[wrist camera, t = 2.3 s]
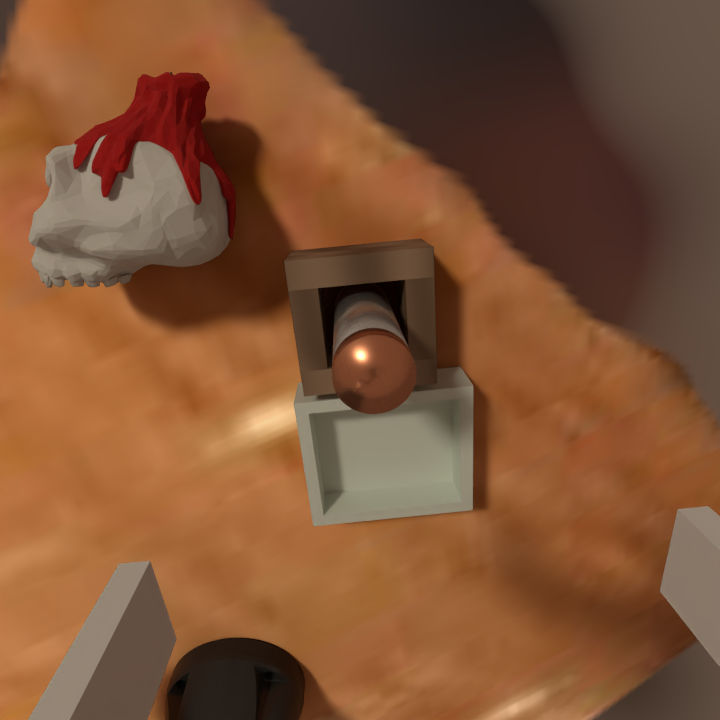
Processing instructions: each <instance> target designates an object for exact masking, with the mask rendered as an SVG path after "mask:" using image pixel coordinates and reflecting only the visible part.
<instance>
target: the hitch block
mask: <svg viewBox="0 0 720 720" xmlns="http://www.w3.org/2000/svg"><path fill="white" fill-rule="evenodd" d="M284 266H285V273H286V279H287V286H288V293H289V299H290V306H291V313H292V319H293V326H294V333H295V339H296V346H297V353H298V359H299V366H300V373H301V380H302V386H303V393H304V396H314V395H324V394H335V393H336V392H335V390H334V387H333V382H332V361H333V346H329V341H328V333H327V324H326V316H325V308H324V300H323V291H322V288H324V287H335V286H345V285H355V284H366V283H376V282H386V281H397V284H398V301H399V318H400V329H401V331H402V334H403V336H404V338H405V341H406V343H407V345H408V348H409V350H410V352H411V355H412V357H413V359H414V362H415V365H416V371H417V378H416V383H415V385H426V384H436V383H437V352H436V316H435V279H434V247H433V246H431V245H430V244H428V243H427V242H425V241H424V240H422V239H412V240H402V241H392V242H381V243H371V244H360V245H350V246H340V247H329V248H319V249H308V250H298V251H291V252H290V254H289V255H288V256H287V258H286V259H285V260H284Z"/></svg>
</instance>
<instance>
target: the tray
mask: <svg viewBox="0 0 720 720" xmlns="http://www.w3.org/2000/svg"><path fill="white" fill-rule="evenodd" d="M294 408H295V414H296V420H297V426H298V433H299V439H300V445H301V451H302V458H303V464H304V470H305V476H306V483H307V489H308V495H309V501H310V508H311V514H312V520H313V526H321V525H331V524H340V523H350V522H360V521H370V520H380V519H390V518H400V517H410V516H420V515H429V514H439V513H449V512H459V511H469V510H473V385H472V383H471V382H470V380H469V379H468V377H467V376H466V374H465V373H464V371H463V370H462V368H461V367H451V368H441V369H437V383H436V384H426V385H415V386H414V389H413V391H412V393H411V394H410V396H409V397H408V398H407V400H406V401H405V402H404V403H402V404H401V405H400V406H398V407H397V408H395V409H393V410H391V411H389V412H385V413H381V414H366V413H361V412H358V411H355V410H353V409H351V408H350V407H348V406H347V405H346V404H344V403H343V402H342V401H341V400H340V398H339V397H338V395H337V394H336V393H335V394H324V395H314V396H304V393H303V386H302V382H299V383H298V386H297V391H296V396H295V401H294Z"/></svg>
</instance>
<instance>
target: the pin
mask: <svg viewBox="0 0 720 720" xmlns="http://www.w3.org/2000/svg"><path fill="white" fill-rule="evenodd" d="M416 378H417V371H416V365H415V362H414V359H413V357H412V355H411V352H410V350H409V348H408V345H407V343H406V341H405V338H404V336H403V334H402V331H401V329H400V327H399V324H398V322H397V320H396V317H395V315H394V313H393V310H392V308H391V306H390V303H389V301H388V299H387V296H386V294H385V293H384V291H383V290H382V289H381V288H380V287H379V286H377V285H376V284H374V283H366V284H355V285H347V286H345V287H344V288H343V289H342V290H341V291H340V293H339V294H338V296H337V298H336V301H335V310H334V336H333V361H332V382H333V387H334V390H335V392H336V394H337V395H338V397H339V398H340V400H341V401H342V402H343V403H344V404H346V405H347V406H348V407H350V408H351V409H353V410H355V411H358V412H361V413H366V414H381V413H385V412H389V411H391V410H393V409H395V408H397V407H398V406H400V405H401V404H402V403H404V402H405V401H406V400H407V398H408V397H409V396H410V394H411V393H412V391H413V389H414V386H415V383H416Z"/></svg>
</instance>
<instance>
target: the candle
mask: <svg viewBox="0 0 720 720" xmlns="http://www.w3.org/2000/svg"><path fill="white" fill-rule="evenodd" d="M209 88H210V87H209V83H208V81H207V80H206V79H205V78H204V77H203V76H202V75H201V74H199V73H178V74H176V75H173V74H172V72H170V73H168V72H165V73H164V74H162V75H160V76H158V77H151V76H149V75H146V74H143V75H141V77H140V78H138V82H137V87H136V92H135V97H134V100H133V102H132V104H131V106H130V107H129V108H128V110H127V111H126V112H125V113H124V114H122V115H120V116H118V117H116V118H114V119H112V120H110V121H108V122H105V123H102V124H99V125H96V126H95V127H93V128H92V129H91V130H89V131H88V132H87V133H86V134H84V135H83V136H82V137H80V138H79V139H77V140H76V141H75V143H74V144H72V145H69V146H58V147H56V148H54V149H53V150H52V151H51V152H50V153H49V154H48V155H47V156H46V163H47V165H46V171H45V178H46V184H47V185H48V187H50V191H49V194H48V197H47V199H46V200H45V202H44V203H43V205H42V206H41V207H40V208H39V209H38V210H37V211H35V213H34V214H33V223H32V227H31V231H30V235H29V241H30V243H31V244H32V245H33V246H36V250H35V252H34V255H33V258H32V264H33V267H34V268H35V269H36V270H37V271H38V272H39V275H40V278H41V281H42V282H43V283H45V285H46V286H47V287H51V288H52V283H53V284H54V285H55V286H57V287H62V286H64V282H65V280H69V282H70V283H71V285H72V286H73V287H77V286H83V285H84V280H85V282H86V284H87V285H88V286H89V287H97V286H100V282H103V283H104V285H105V287H110V286H113V285H115V284H117V283H118V282H119V281H120V282H121V284H125V283H127V282H130V280H131V277H132V274H133V273H135V272H136V271H137V270H139V269H141V268H143V267H144V266H147V265H150V264H156V265H165V266H175V267H187V266H196V265H201V264H203V263H206V262H208V261H210V260H212V259H213V258H215V257H217V256H218V255H220V254H221V252H222V251H223V250H224V249H225V248H226V247H227V245H228V243H229V241H230V239H233V232H234V226H235V216H236V199H235V189H234V186H233V184H232V183H231V181H230V179H229V178H228V176H227V175H226V174H225V172H224V171H223V169H222V168H221V167H220V166H219V165H218V163H217V162H216V160H215V158H214V155H213V152H212V150H211V149H210V147H209V145H208V143H207V141H206V139H205V137H204V135H203V133H202V127H201V120H202V119H204V118H205V115H206V107H205V100H206V96H207V92H208V90H209Z"/></svg>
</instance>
